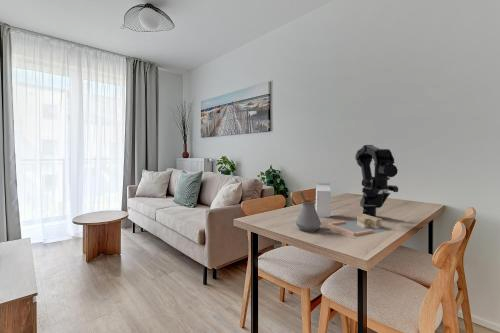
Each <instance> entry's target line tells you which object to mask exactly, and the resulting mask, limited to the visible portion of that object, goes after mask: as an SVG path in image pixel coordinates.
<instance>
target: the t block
mask: <svg viewBox="0 0 500 333" xmlns="http://www.w3.org/2000/svg"><path fill="white" fill-rule="evenodd" d="M356 220H357V226H360V227H363V228H367V227H372V228H375V229H377V228H383V219H382V218H379V217H377V216H376V217H373V216H369V215H365V214H363V213H362V214H358V215H357V217H356Z"/></svg>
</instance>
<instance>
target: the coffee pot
mask: <svg viewBox="0 0 500 333" xmlns="http://www.w3.org/2000/svg"><path fill="white" fill-rule="evenodd" d="M299 195H300V197H301V199H302V200H301V201H300V202H301V203H302V206H301V209H300V211H299V214H298V215H297V218H296V220H295V225H296V226H297V227H298V229H299V230H301V231H304V232H316V231H317V230H318V229H319V228H320V227H321V225H322V222H321V220H320V218H319V217H318V215H317V212H316V200H311V199H309V200H308V199H305V196H304V194H303V192H302V191H300V192H299Z"/></svg>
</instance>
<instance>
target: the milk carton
mask: <svg viewBox="0 0 500 333" xmlns="http://www.w3.org/2000/svg"><path fill="white" fill-rule="evenodd" d="M331 195H332V189H331V182H321V181H319V182H318V181H317V182H316V185H315V201H316V203H315V210H316V212H317V215H318V217H319V219H322V218H330V217H331V201H332V200H331V197H332V196H331Z"/></svg>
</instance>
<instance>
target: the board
mask: <svg viewBox="0 0 500 333" xmlns="http://www.w3.org/2000/svg"><path fill="white" fill-rule="evenodd" d="M325 226H327V227H325V228H327V229H328V227H329V228H330V230H331V231H333V230H337V231H338V233H339V234H341V232H342V233H343V235H344V236H346V235H348V237H350V238H352V239H354V237H355V238H357V237H358V238H359V237H363V236H368V235H373V234H378V233H383V232H387V231H389V229H388V228H384V227H382V228H377V229H375V228H372V227H367V228H363V227H360V226H357V219H355V220H349V221H348V220H347V221H346V220H340V221H334V222H328V223H327V224H325ZM331 228H332V229H331ZM339 231H340V232H339ZM344 233H345V234H344ZM349 235H351V236H349ZM352 236H353V237H352Z"/></svg>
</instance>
